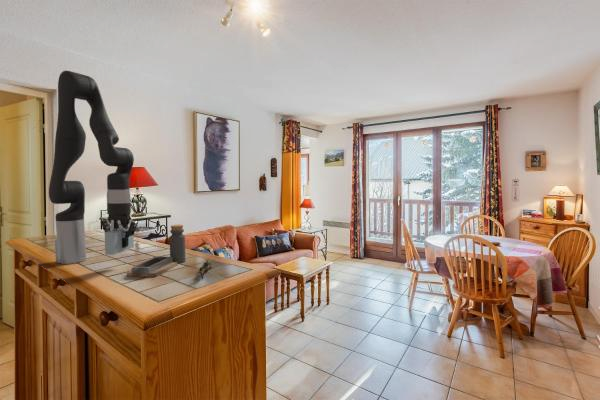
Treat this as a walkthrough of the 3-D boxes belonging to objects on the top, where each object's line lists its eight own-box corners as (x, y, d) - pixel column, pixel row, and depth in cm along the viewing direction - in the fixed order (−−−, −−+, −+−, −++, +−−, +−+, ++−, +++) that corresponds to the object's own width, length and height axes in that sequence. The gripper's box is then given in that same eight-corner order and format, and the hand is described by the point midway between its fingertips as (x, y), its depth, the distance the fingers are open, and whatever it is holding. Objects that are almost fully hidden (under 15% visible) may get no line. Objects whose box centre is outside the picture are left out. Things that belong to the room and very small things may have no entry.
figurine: (202, 279, 112) (202, 281, 98) (194, 271, 111) (193, 272, 97) (214, 267, 114) (215, 267, 100) (206, 259, 114) (207, 259, 100)
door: (105, 254, 107) (104, 232, 106) (126, 247, 118) (125, 227, 117) (113, 254, 107) (112, 232, 106) (133, 247, 118) (133, 227, 117)
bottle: (188, 260, 125) (187, 224, 124) (181, 263, 119) (180, 226, 118) (174, 259, 126) (173, 224, 125) (167, 263, 120) (166, 226, 119)
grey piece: (125, 276, 104) (125, 267, 104) (151, 264, 119) (151, 256, 119) (155, 277, 103) (155, 268, 102) (178, 265, 118) (177, 257, 117)
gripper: (93, 201, 108) (95, 248, 109) (129, 203, 106) (131, 250, 108) (108, 200, 115) (110, 244, 117) (143, 201, 114) (143, 245, 115)
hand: (120, 246), depth 112 cm, fingers closed on door, 3 cm apart
